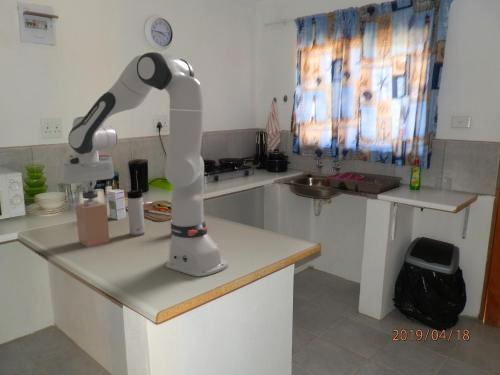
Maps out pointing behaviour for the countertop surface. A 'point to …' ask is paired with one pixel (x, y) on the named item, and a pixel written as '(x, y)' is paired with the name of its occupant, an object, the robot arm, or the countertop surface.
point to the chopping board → (157, 211)
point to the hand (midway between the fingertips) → (89, 192)
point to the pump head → (90, 195)
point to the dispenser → (92, 223)
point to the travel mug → (136, 212)
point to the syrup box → (117, 204)
